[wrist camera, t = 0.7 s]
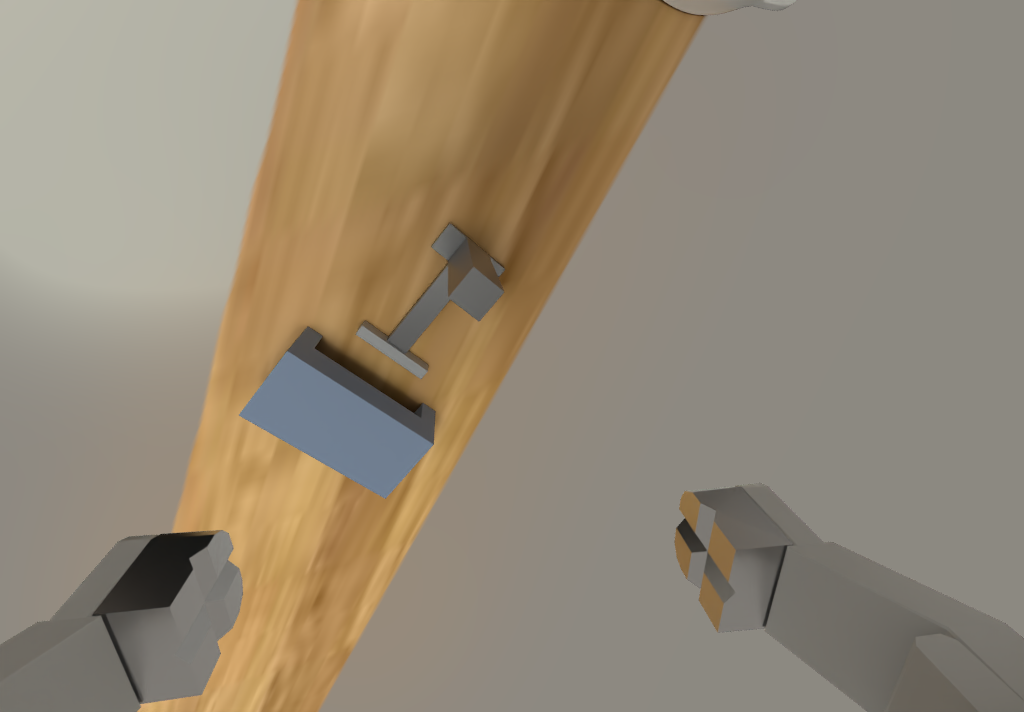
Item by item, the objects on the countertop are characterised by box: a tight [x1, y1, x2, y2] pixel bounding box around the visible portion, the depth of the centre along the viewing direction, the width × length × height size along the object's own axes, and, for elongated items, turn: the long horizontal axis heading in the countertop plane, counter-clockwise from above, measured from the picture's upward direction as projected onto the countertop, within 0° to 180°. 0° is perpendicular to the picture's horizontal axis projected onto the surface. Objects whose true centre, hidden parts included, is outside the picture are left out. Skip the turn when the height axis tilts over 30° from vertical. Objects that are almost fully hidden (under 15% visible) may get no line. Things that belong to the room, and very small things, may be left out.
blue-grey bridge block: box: [239, 327, 435, 499], centre depth 43 cm, size 7×14×6 cm, turn 49°
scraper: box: [356, 223, 505, 379], centre depth 37 cm, size 12×7×13 cm, turn 139°
